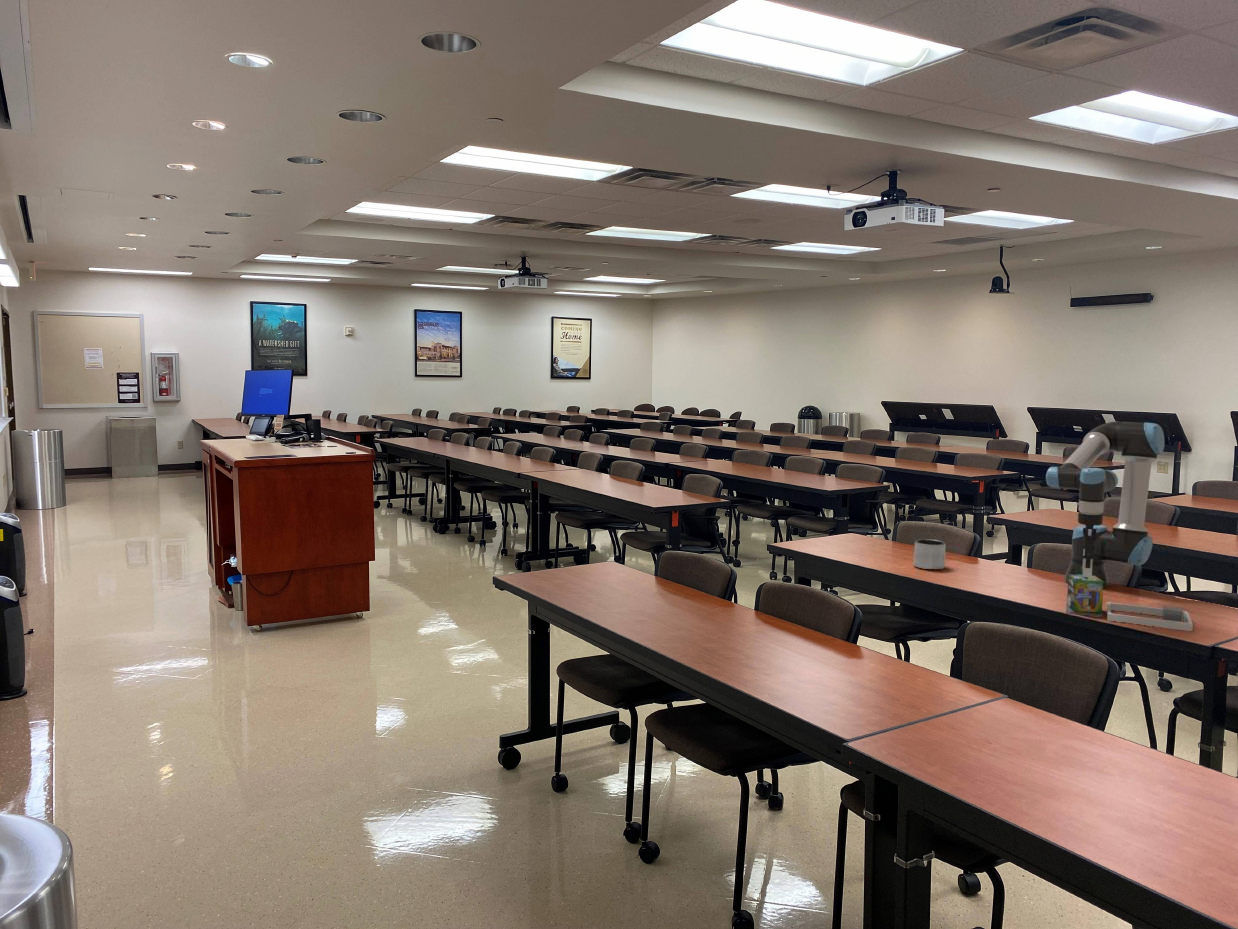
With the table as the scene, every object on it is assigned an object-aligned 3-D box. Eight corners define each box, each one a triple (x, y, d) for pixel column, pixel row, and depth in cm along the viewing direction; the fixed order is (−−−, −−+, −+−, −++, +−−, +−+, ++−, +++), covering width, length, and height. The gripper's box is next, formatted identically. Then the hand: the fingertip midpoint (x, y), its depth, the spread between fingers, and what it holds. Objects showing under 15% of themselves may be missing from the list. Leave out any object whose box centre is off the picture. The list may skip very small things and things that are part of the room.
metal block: (1162, 620, 288) (1163, 605, 287) (1179, 622, 285) (1180, 607, 285) (1163, 624, 283) (1164, 609, 283) (1181, 626, 281) (1182, 611, 280)
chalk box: (1102, 613, 292) (1105, 572, 290) (1073, 612, 294) (1076, 570, 292) (1093, 606, 301) (1096, 565, 299) (1065, 604, 303) (1068, 564, 301)
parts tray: (1106, 608, 300) (1106, 601, 300) (1186, 618, 289) (1187, 611, 289) (1107, 620, 286) (1107, 613, 286) (1192, 631, 275) (1192, 624, 275)
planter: (947, 566, 363) (948, 540, 361) (941, 572, 352) (942, 546, 351) (917, 562, 369) (918, 537, 368) (910, 568, 359) (911, 542, 357)
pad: (1066, 605, 305) (1066, 603, 305) (1101, 609, 300) (1101, 607, 300) (1066, 613, 295) (1066, 611, 295) (1102, 617, 290) (1102, 615, 290)
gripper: (1078, 505, 306) (1075, 562, 309) (1078, 518, 284) (1074, 579, 287) (1102, 507, 302) (1098, 564, 305) (1103, 520, 280) (1099, 582, 283)
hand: (1087, 572), depth 296 cm, fingers open, 13 cm apart
